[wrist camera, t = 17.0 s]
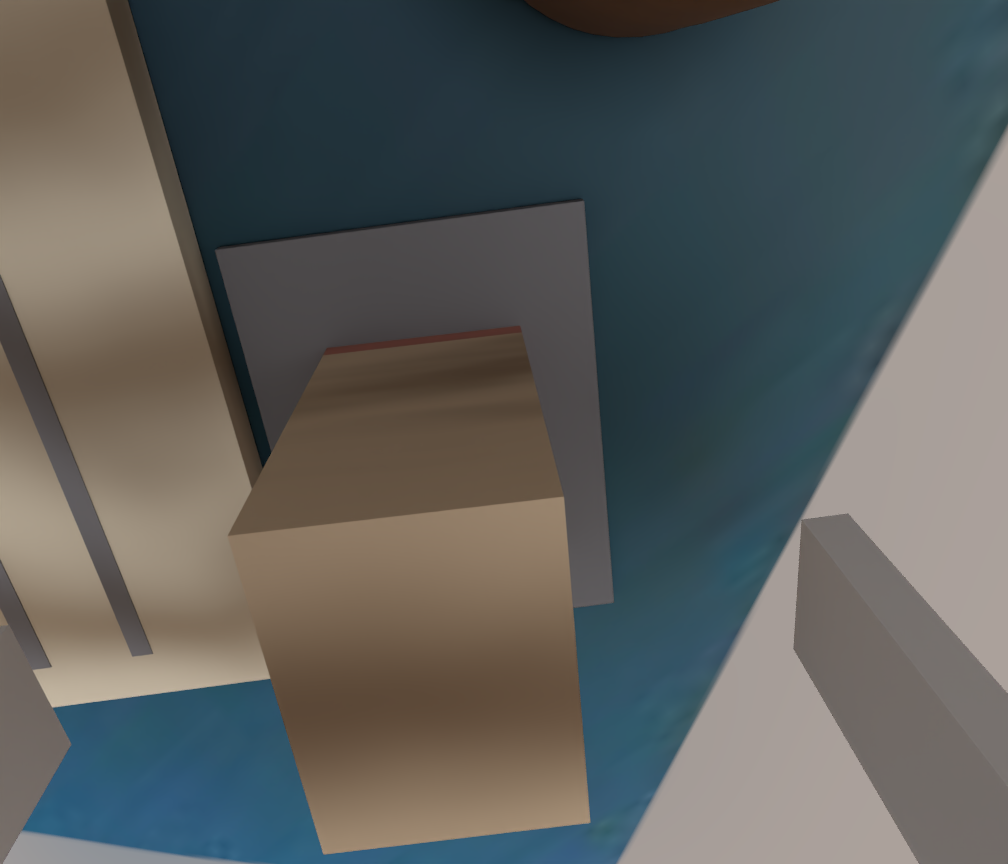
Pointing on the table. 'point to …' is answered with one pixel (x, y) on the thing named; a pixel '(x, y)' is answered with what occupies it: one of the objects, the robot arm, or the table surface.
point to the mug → (638, 14)
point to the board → (110, 379)
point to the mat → (441, 327)
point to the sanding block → (419, 595)
